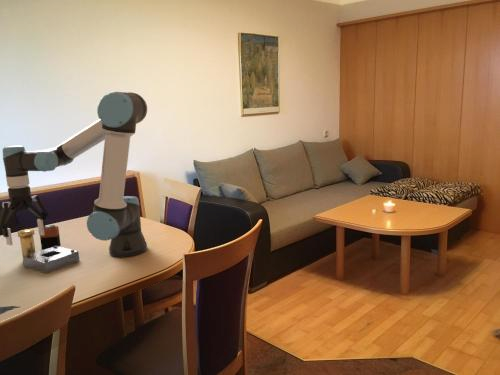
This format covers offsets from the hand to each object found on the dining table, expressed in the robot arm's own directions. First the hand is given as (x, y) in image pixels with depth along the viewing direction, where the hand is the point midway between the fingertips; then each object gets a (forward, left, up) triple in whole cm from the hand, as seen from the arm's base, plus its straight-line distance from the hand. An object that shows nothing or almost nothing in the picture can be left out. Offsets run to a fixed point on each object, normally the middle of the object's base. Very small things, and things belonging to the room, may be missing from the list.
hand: (26, 239), depth 167 cm
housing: (-12, -2, -9) cm, 15 cm away
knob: (0, 0, -9) cm, 9 cm away
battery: (+5, -13, -9) cm, 16 cm away
